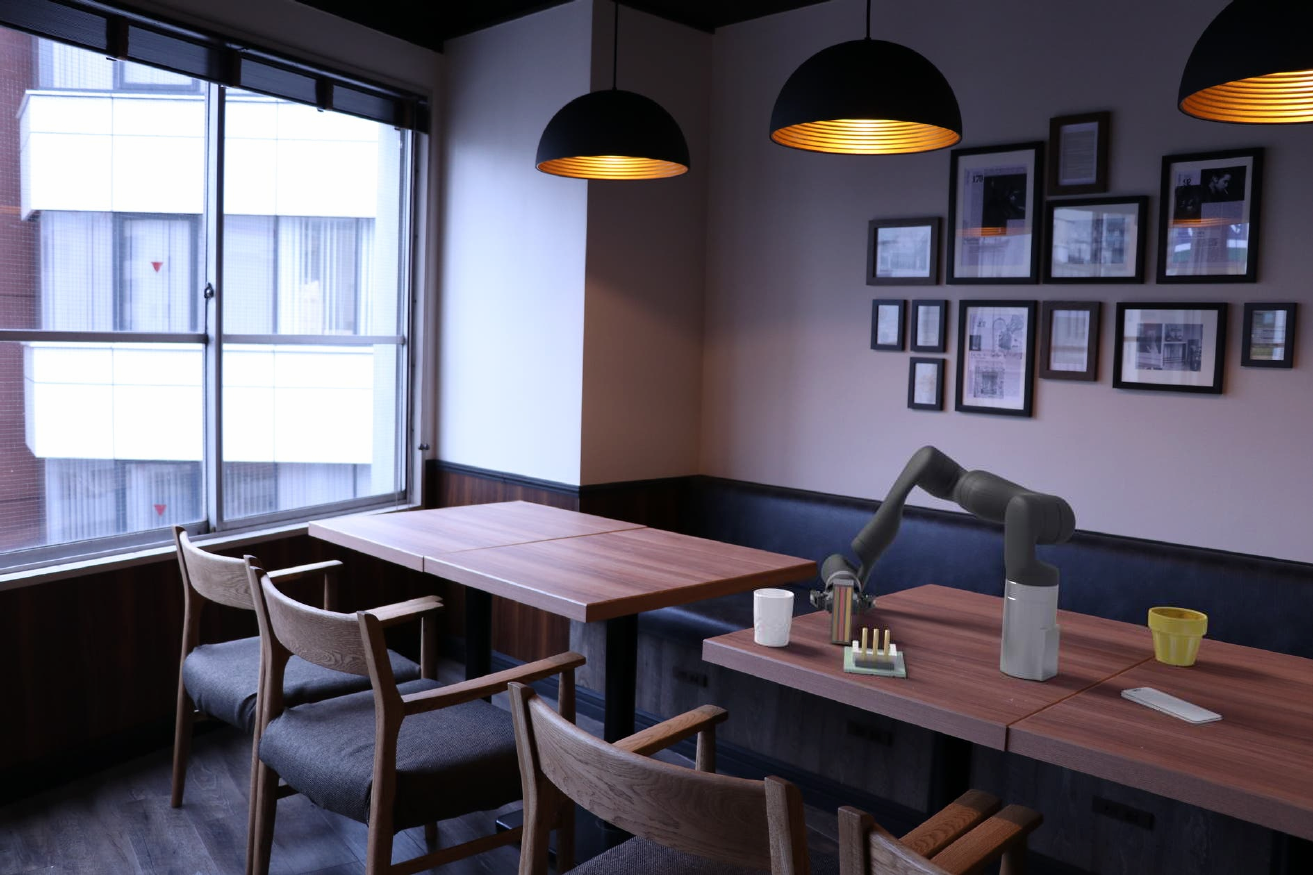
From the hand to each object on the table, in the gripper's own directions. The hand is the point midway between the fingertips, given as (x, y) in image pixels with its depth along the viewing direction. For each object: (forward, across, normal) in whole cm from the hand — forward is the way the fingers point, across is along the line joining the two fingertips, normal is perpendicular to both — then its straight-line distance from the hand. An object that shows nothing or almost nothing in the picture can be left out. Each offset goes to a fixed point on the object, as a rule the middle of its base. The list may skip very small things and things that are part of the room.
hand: (842, 609), depth 206 cm
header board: (+10, +6, +7) cm, 14 cm away
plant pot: (-10, +65, +8) cm, 66 cm away
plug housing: (-3, 0, +7) cm, 8 cm away
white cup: (+2, -14, +7) cm, 16 cm away
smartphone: (+20, +56, +8) cm, 60 cm away
